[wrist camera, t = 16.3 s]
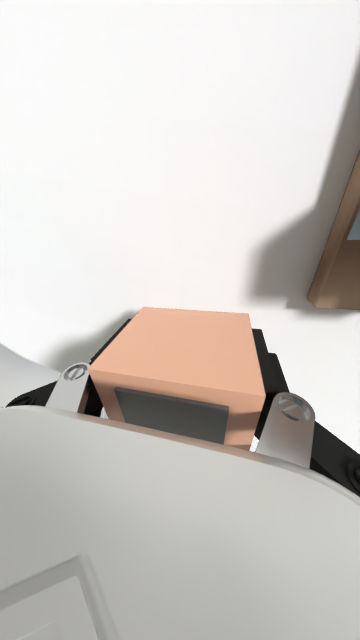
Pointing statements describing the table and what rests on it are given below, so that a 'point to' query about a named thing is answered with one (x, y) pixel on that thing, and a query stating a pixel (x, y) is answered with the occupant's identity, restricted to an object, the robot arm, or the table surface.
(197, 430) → the terracotta plug
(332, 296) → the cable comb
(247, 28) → the table surface
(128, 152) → the table surface
